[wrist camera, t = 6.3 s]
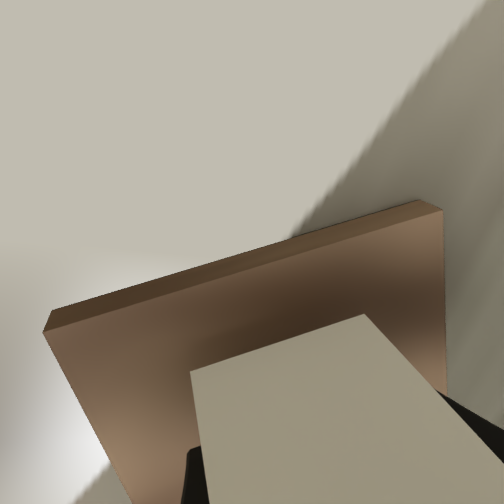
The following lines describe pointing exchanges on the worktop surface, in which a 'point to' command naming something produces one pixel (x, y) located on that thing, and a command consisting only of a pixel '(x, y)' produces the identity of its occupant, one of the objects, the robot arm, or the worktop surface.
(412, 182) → the worktop surface
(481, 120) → the worktop surface
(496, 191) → the worktop surface
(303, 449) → the hollow square socket
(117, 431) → the brown rectangular board
